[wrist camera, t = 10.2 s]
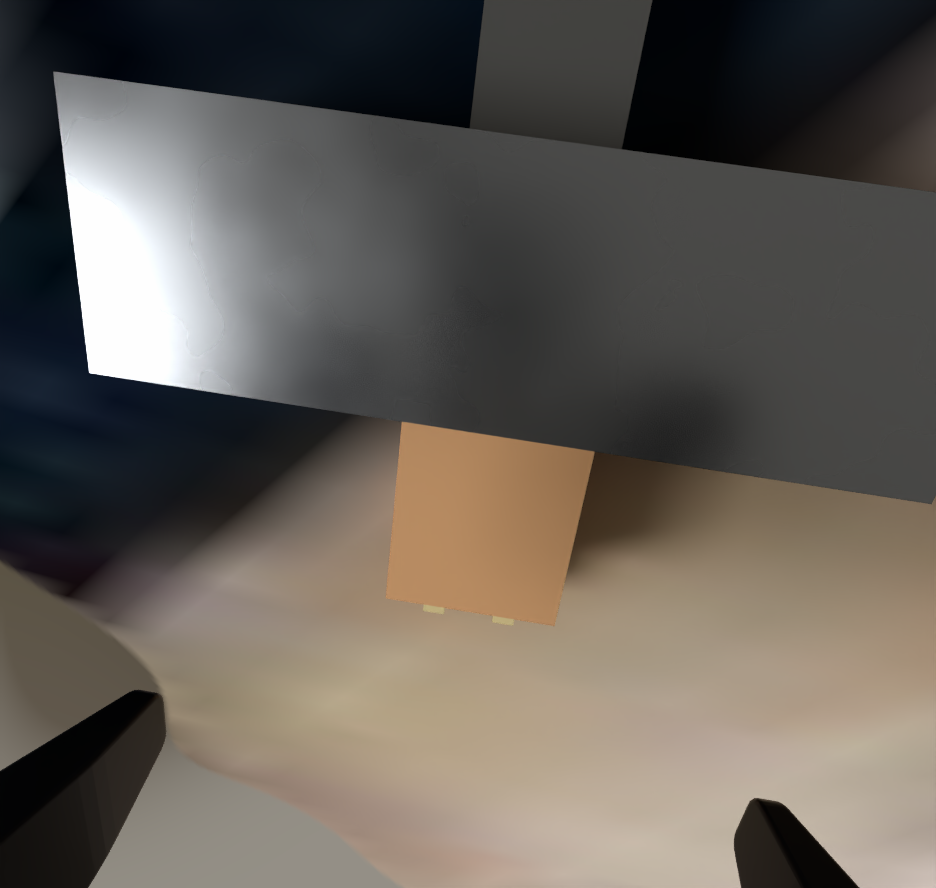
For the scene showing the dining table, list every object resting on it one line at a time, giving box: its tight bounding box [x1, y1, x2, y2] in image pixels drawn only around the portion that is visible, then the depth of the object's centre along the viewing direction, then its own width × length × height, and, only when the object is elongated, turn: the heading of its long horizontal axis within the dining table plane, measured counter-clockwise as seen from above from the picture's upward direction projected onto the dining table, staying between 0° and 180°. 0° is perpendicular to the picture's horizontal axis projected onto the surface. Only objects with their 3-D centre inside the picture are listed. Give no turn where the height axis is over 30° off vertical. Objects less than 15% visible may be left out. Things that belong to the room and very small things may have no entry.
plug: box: [386, 0, 652, 626], centre depth 13 cm, size 19×4×4 cm, turn 173°
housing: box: [53, 72, 936, 504], centre depth 12 cm, size 5×16×6 cm, turn 82°
